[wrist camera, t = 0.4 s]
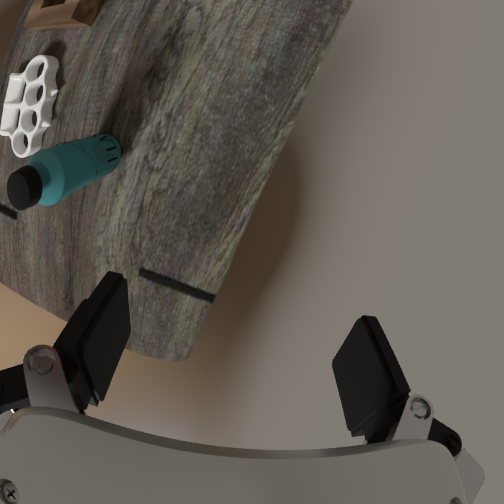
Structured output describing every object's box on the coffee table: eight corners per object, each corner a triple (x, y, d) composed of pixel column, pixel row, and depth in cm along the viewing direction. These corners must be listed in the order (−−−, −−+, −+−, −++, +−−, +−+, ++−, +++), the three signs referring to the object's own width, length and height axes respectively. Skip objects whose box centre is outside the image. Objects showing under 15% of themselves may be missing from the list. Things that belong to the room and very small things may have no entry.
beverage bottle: (133, 158, 35) (49, 203, 18) (102, 180, 37) (17, 235, 19) (114, 122, 33) (19, 142, 15) (84, 147, 34) (-9, 183, 16)
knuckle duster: (23, 57, 24) (75, 56, 27) (5, 147, 32) (51, 158, 35) (11, 57, 21) (63, 53, 24) (-6, 151, 29) (40, 163, 32)
